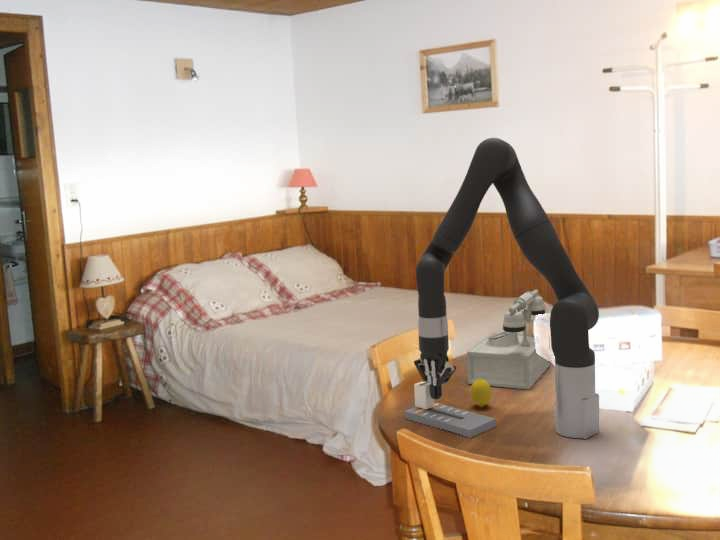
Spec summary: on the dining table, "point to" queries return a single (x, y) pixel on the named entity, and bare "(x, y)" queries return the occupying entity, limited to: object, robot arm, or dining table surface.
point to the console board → (451, 419)
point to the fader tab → (423, 395)
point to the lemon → (480, 392)
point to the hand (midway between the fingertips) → (435, 398)
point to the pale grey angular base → (510, 349)
